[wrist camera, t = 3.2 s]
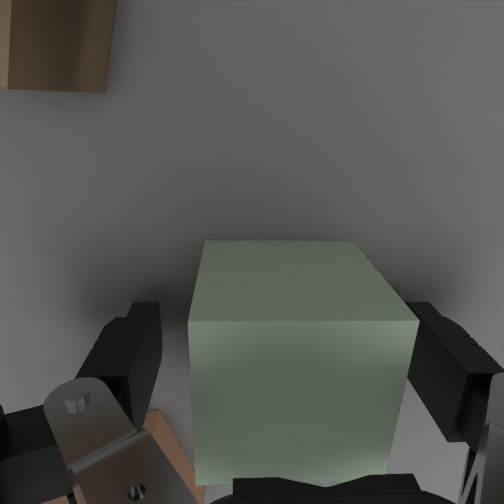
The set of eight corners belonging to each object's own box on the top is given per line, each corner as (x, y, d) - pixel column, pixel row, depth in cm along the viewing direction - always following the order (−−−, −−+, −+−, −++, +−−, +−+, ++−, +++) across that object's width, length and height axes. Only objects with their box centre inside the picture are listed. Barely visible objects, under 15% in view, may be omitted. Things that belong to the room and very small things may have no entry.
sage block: (205, 239, 13) (187, 321, 8) (352, 240, 13) (419, 320, 8) (208, 361, 14) (195, 485, 10) (336, 360, 15) (383, 480, 10)
